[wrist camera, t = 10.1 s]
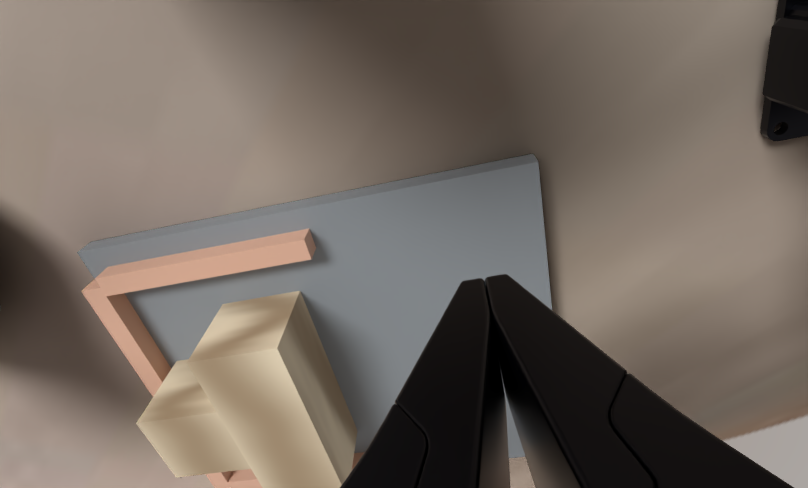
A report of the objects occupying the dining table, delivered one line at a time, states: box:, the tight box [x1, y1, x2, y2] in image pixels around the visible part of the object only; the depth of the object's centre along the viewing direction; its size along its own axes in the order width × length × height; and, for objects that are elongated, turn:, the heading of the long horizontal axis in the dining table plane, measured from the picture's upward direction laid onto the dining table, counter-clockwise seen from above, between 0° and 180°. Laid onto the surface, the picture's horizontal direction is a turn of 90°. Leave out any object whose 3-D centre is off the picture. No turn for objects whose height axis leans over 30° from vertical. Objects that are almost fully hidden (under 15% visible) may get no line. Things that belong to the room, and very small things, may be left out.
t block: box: [136, 291, 357, 488], centre depth 24 cm, size 8×10×4 cm
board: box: [77, 154, 552, 488], centre depth 25 cm, size 21×18×2 cm
